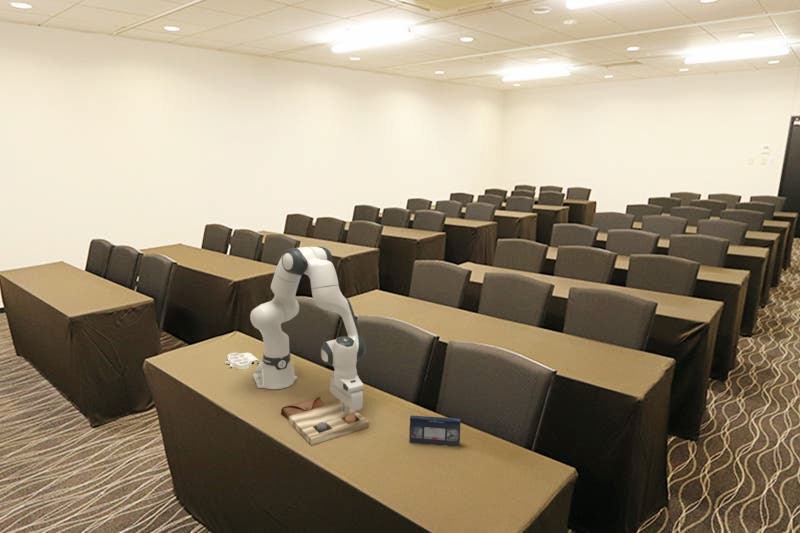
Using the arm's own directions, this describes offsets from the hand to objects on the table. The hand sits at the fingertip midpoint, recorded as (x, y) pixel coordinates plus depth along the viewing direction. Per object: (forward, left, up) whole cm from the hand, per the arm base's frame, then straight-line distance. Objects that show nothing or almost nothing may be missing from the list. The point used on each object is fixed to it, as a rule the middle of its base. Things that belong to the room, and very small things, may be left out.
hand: (345, 411), depth 202 cm
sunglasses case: (-15, -10, -4) cm, 18 cm away
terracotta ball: (+4, 0, -2) cm, 4 cm away
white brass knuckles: (-78, -16, -4) cm, 80 cm away
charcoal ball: (+3, -12, -2) cm, 13 cm away
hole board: (-1, -7, -4) cm, 8 cm away
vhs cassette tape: (+32, +19, -4) cm, 37 cm away
